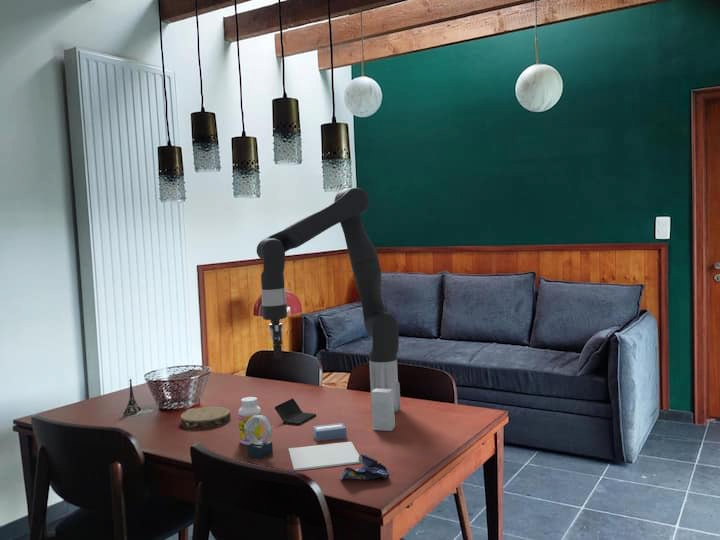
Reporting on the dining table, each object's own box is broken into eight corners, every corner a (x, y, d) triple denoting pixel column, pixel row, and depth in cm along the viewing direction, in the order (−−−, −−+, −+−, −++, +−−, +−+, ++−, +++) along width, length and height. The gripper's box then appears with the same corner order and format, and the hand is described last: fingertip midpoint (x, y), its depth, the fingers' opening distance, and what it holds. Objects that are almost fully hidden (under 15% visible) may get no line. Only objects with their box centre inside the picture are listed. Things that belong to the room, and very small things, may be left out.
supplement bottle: (235, 442, 189) (232, 399, 188) (252, 436, 194) (250, 394, 193) (250, 447, 184) (247, 403, 184) (267, 440, 189) (265, 397, 189)
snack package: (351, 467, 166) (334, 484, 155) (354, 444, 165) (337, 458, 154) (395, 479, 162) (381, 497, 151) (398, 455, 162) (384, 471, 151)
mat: (351, 443, 184) (351, 441, 184) (362, 462, 168) (362, 461, 168) (288, 450, 180) (288, 448, 180) (294, 470, 165) (293, 468, 164)
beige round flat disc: (237, 423, 209) (236, 414, 209) (189, 433, 201) (188, 423, 201) (221, 412, 223) (220, 403, 222) (175, 421, 215) (174, 412, 214)
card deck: (342, 433, 194) (342, 422, 194) (346, 438, 189) (346, 427, 189) (313, 436, 192) (313, 426, 192) (316, 442, 187) (316, 431, 187)
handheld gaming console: (305, 421, 202) (287, 395, 205) (288, 434, 204) (271, 408, 206) (318, 415, 213) (301, 391, 215) (303, 428, 214) (286, 403, 217)
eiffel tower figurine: (118, 421, 217) (115, 383, 217) (105, 416, 225) (103, 378, 224) (159, 411, 228) (156, 374, 227) (146, 406, 235) (144, 370, 234)
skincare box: (395, 427, 197) (393, 388, 196) (391, 431, 193) (389, 392, 192) (376, 426, 199) (374, 387, 198) (372, 430, 195) (370, 391, 194)
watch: (255, 449, 182) (253, 411, 181) (277, 453, 178) (275, 414, 177) (242, 455, 177) (240, 416, 177) (264, 460, 173) (262, 420, 172)
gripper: (287, 304, 192) (291, 358, 193) (285, 299, 206) (288, 349, 207) (262, 306, 190) (266, 360, 191) (261, 301, 204) (265, 351, 205)
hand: (277, 355), depth 199 cm, fingers open, 8 cm apart
